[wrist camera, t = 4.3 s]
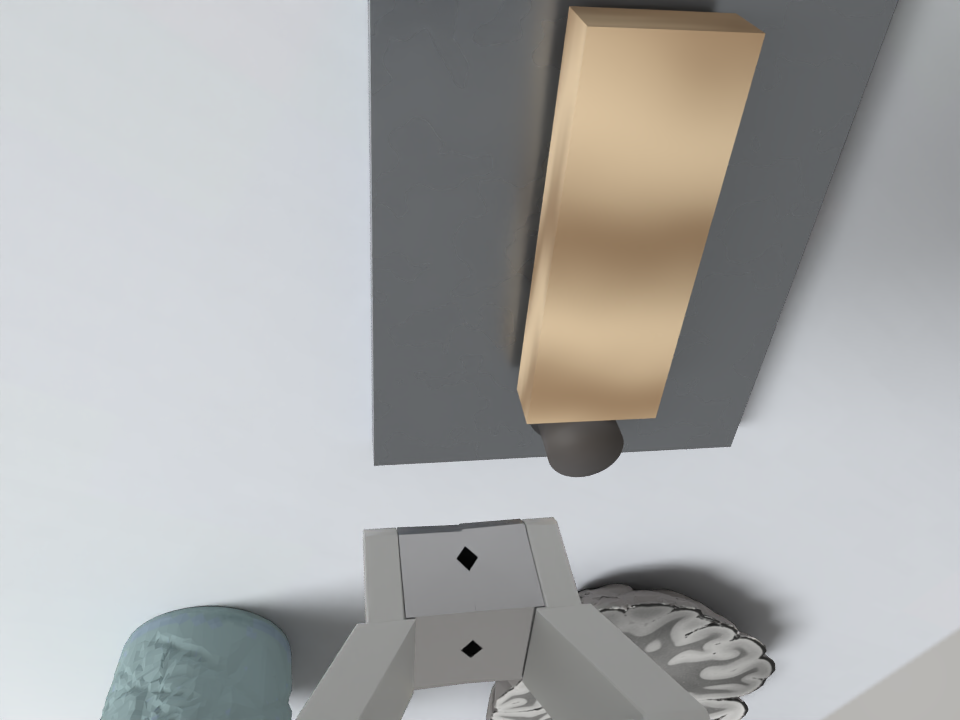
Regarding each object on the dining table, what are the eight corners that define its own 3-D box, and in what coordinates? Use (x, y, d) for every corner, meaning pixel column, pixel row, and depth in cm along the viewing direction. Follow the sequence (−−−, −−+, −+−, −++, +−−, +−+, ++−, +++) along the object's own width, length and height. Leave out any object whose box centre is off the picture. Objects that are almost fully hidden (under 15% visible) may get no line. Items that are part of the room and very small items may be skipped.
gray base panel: (363, -499, 17) (366, -521, 16) (1009, -404, 20) (1065, -416, 18) (372, 440, 34) (374, 472, 33) (718, 424, 37) (734, 452, 35)
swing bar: (625, 439, 33) (639, 473, 32) (509, 444, 32) (518, 480, 31) (735, 13, 23) (765, 33, 21) (569, 5, 22) (587, 26, 20)
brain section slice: (687, 730, 57) (703, 773, 54) (457, 744, 53) (463, 790, 50) (803, 557, 45) (829, 601, 43) (519, 557, 41) (531, 606, 39)
